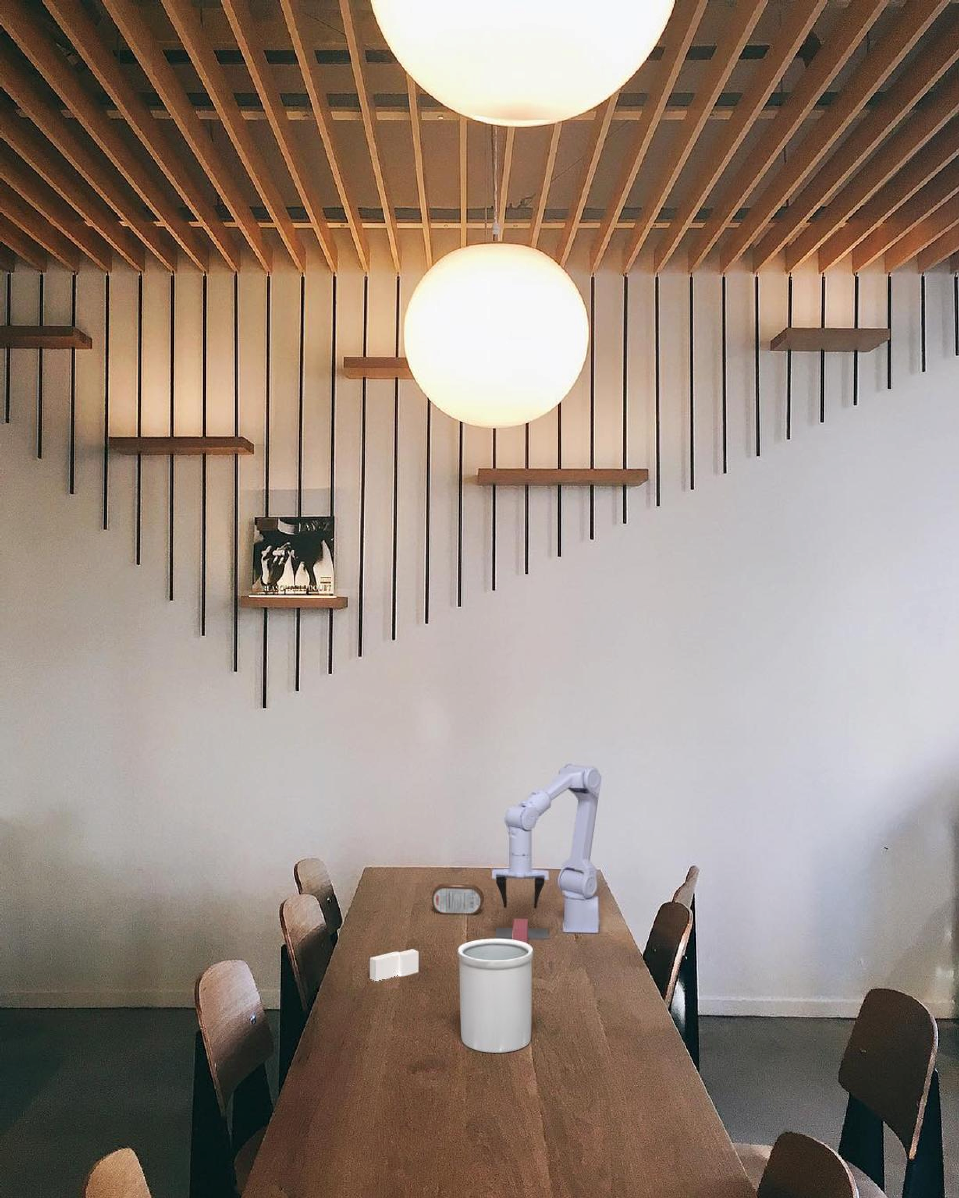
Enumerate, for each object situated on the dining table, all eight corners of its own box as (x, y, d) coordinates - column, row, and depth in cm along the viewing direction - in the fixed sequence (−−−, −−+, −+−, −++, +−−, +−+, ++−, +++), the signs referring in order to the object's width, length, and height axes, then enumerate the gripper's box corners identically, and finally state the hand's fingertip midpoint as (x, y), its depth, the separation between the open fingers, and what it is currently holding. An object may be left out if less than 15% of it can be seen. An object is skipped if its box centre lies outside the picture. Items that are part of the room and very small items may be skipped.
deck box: (527, 942, 253) (527, 918, 253) (526, 953, 244) (526, 929, 244) (513, 941, 253) (513, 918, 254) (512, 952, 244) (512, 928, 245)
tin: (484, 913, 280) (484, 883, 280) (483, 916, 277) (483, 886, 277) (432, 911, 281) (432, 882, 282) (430, 914, 278) (430, 884, 279)
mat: (548, 930, 263) (548, 928, 263) (547, 939, 255) (547, 937, 255) (496, 928, 264) (496, 927, 264) (494, 937, 256) (494, 936, 256)
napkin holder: (363, 986, 221) (363, 961, 221) (366, 970, 232) (366, 945, 233) (429, 986, 222) (429, 960, 222) (429, 969, 233) (429, 945, 233)
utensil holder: (446, 1030, 195) (446, 942, 196) (513, 1019, 201) (513, 933, 202) (475, 1060, 181) (475, 964, 182) (546, 1047, 187) (546, 954, 188)
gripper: (491, 856, 246) (491, 910, 246) (548, 857, 245) (548, 912, 245) (492, 850, 253) (492, 903, 253) (548, 851, 252) (548, 904, 252)
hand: (520, 907), depth 249 cm, fingers open, 7 cm apart
